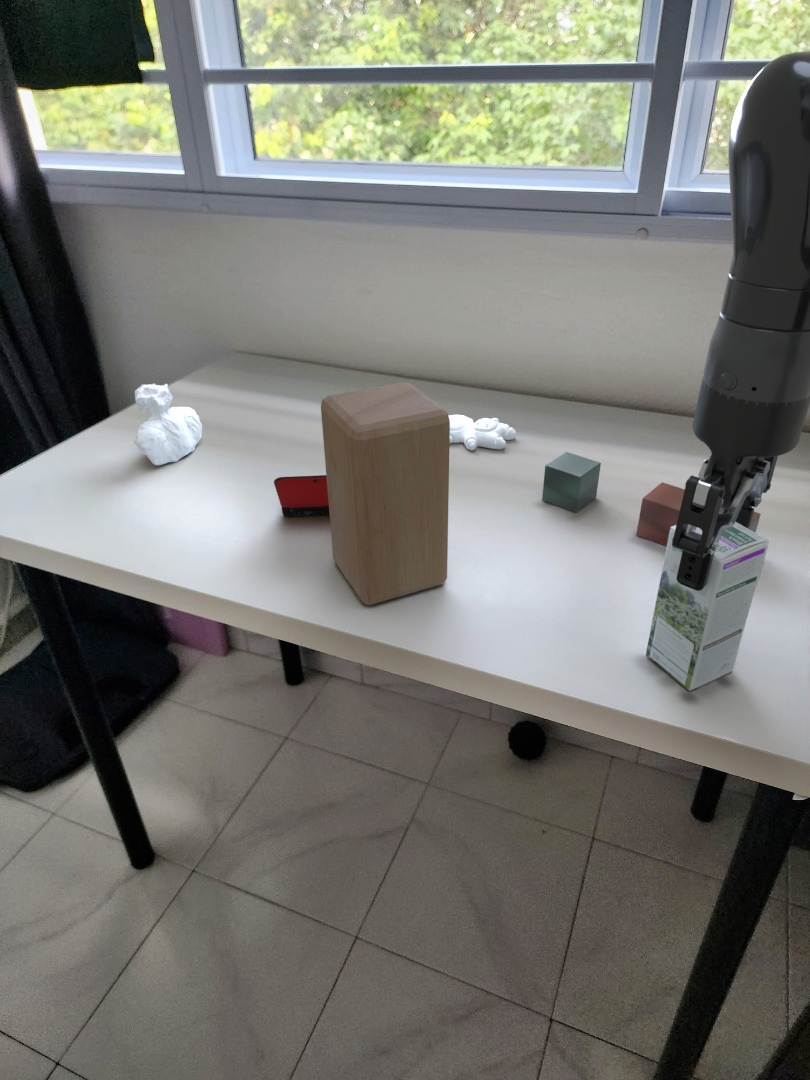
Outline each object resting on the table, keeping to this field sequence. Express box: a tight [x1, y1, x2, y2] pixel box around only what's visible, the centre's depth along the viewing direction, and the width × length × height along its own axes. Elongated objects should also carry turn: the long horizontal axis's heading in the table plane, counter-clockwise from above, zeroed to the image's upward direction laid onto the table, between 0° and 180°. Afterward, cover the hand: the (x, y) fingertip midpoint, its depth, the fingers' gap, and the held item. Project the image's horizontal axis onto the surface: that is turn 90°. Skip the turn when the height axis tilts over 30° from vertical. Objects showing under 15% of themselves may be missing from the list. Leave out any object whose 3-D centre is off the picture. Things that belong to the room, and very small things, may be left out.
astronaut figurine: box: [448, 414, 517, 451], centre depth 111 cm, size 9×12×3 cm
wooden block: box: [320, 381, 451, 606], centre depth 77 cm, size 10×10×20 cm
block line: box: [541, 451, 762, 547], centre depth 89 cm, size 24×5×5 cm, turn 49°
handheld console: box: [273, 474, 330, 518], centre depth 93 cm, size 12×11×7 cm
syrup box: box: [645, 513, 770, 691], centre depth 65 cm, size 6×6×14 cm
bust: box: [134, 383, 203, 466], centre depth 107 cm, size 12×8×11 cm
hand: (711, 562), depth 63 cm, fingers open, 8 cm apart
